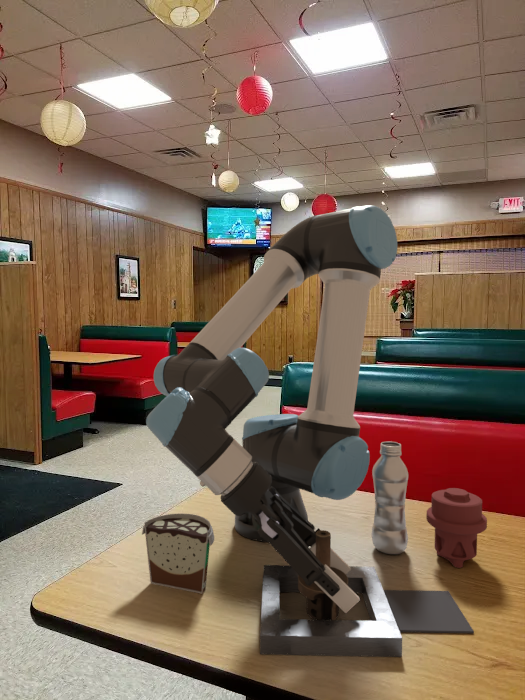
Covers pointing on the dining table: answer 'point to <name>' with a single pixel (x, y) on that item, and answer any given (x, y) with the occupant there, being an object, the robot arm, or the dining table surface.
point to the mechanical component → (456, 524)
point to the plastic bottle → (390, 500)
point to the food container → (178, 550)
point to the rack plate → (328, 634)
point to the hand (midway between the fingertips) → (348, 588)
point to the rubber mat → (426, 612)
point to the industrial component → (317, 599)
